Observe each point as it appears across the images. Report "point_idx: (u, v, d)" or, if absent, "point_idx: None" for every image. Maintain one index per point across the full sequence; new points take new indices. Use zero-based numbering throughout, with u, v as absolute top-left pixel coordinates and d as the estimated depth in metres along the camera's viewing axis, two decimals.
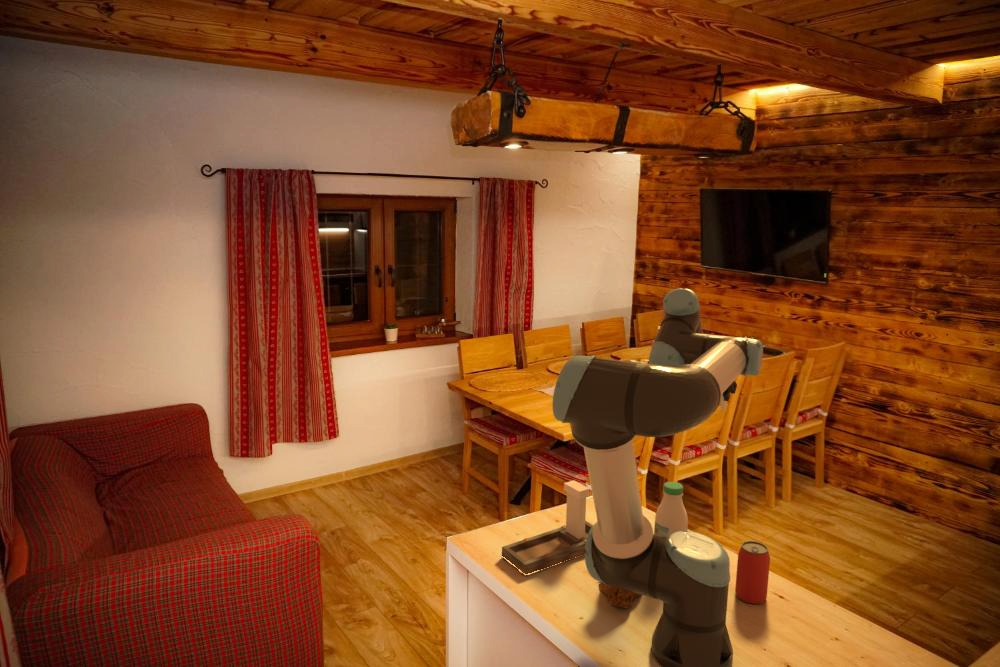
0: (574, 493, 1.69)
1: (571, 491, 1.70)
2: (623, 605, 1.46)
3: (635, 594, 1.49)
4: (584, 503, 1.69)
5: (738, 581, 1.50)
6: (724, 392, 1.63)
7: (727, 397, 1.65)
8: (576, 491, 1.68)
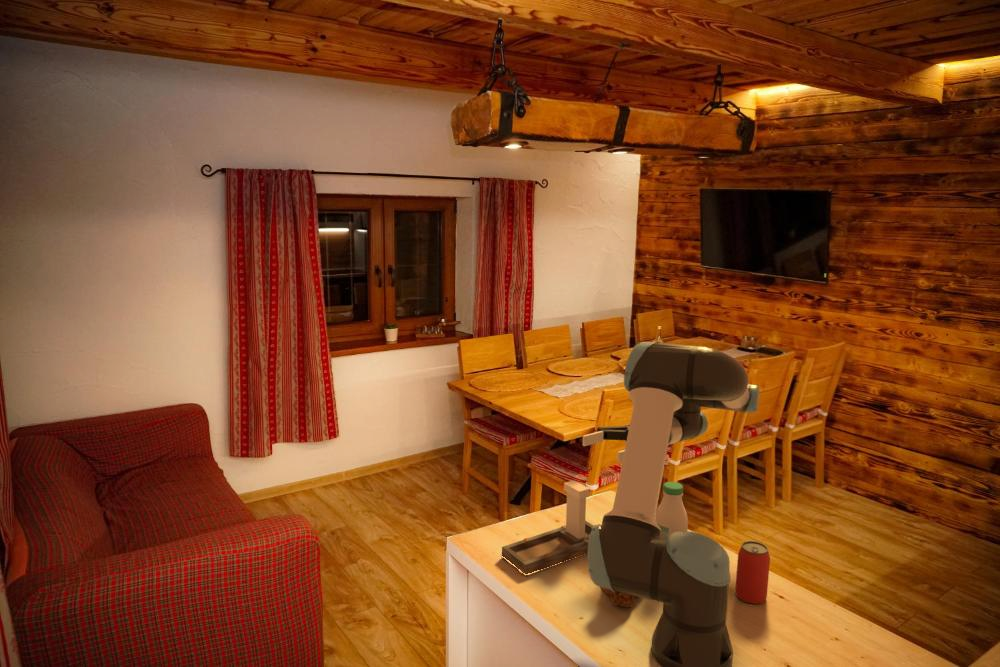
0: (574, 493, 1.69)
1: (571, 491, 1.70)
2: (624, 604, 1.46)
3: None
4: (584, 503, 1.69)
5: (738, 581, 1.50)
6: None
7: None
8: (576, 491, 1.68)
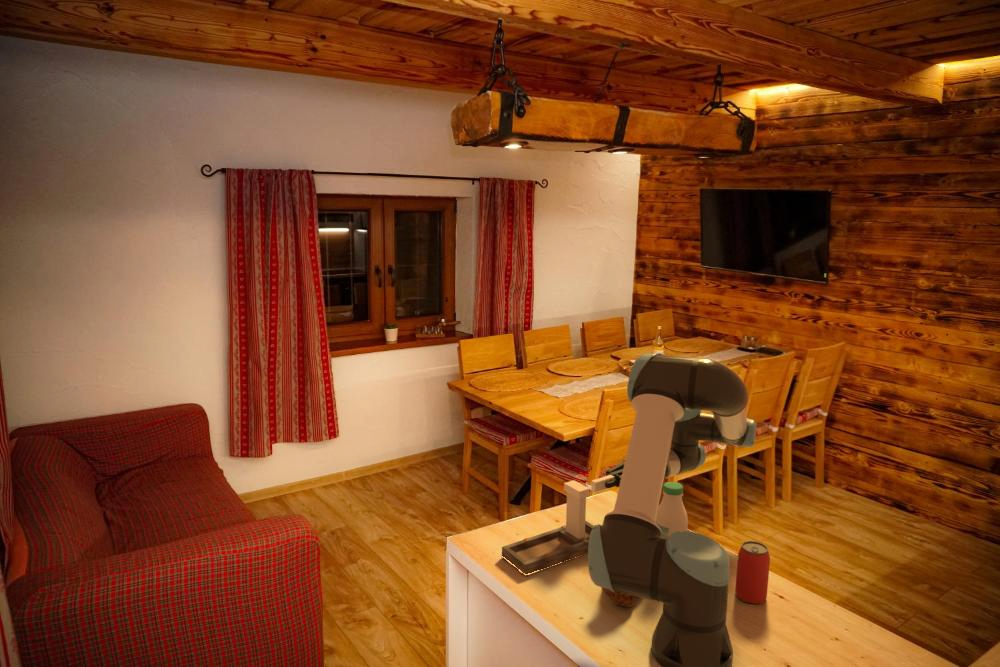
0: (574, 493, 1.69)
1: (571, 491, 1.70)
2: (625, 604, 1.46)
3: None
4: (584, 503, 1.69)
5: (738, 581, 1.50)
6: None
7: (611, 481, 1.75)
8: (576, 491, 1.68)
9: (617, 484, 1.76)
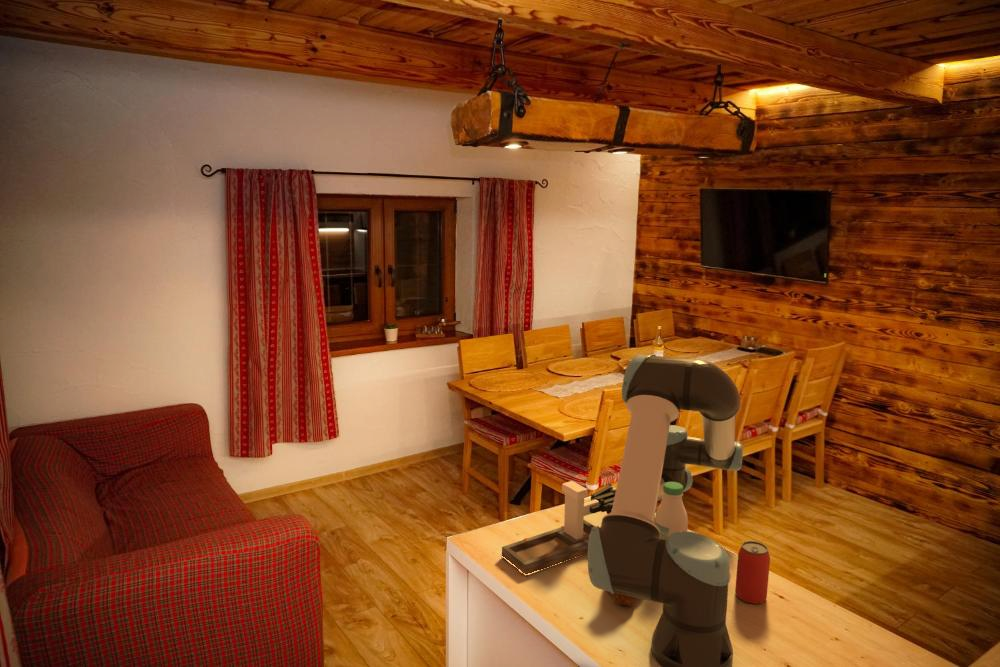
0: (572, 494, 1.68)
1: (569, 491, 1.70)
2: (627, 603, 1.46)
3: None
4: (582, 504, 1.69)
5: (738, 581, 1.50)
6: (603, 501, 1.75)
7: (596, 506, 1.73)
8: (574, 492, 1.68)
9: (602, 509, 1.74)
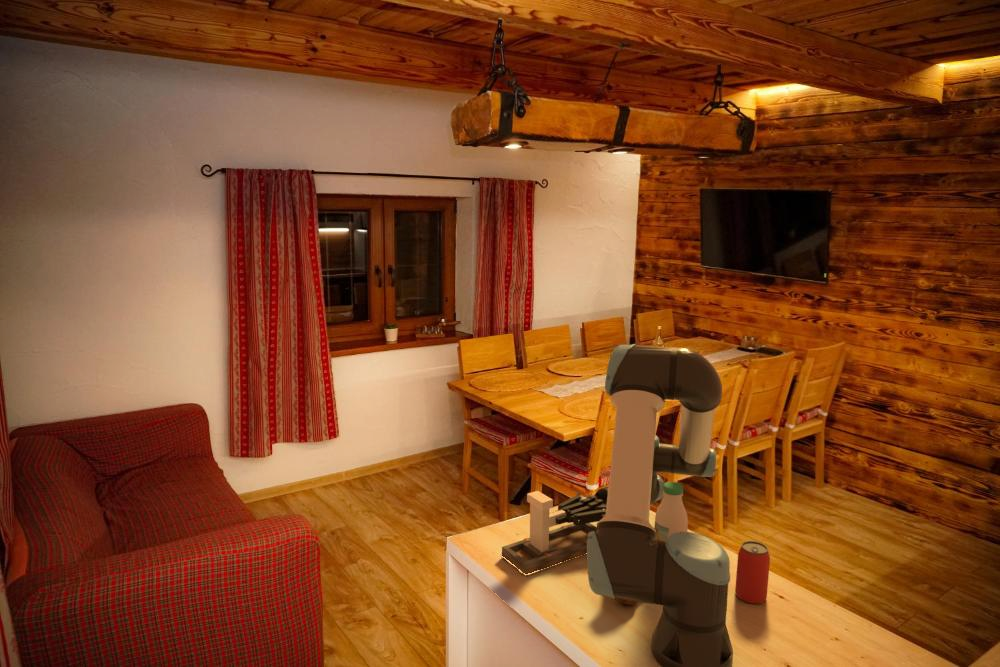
0: (537, 505, 1.63)
1: (533, 502, 1.64)
2: (628, 602, 1.47)
3: None
4: (547, 515, 1.63)
5: (738, 581, 1.50)
6: None
7: (562, 517, 1.68)
8: (539, 502, 1.62)
9: (568, 520, 1.69)
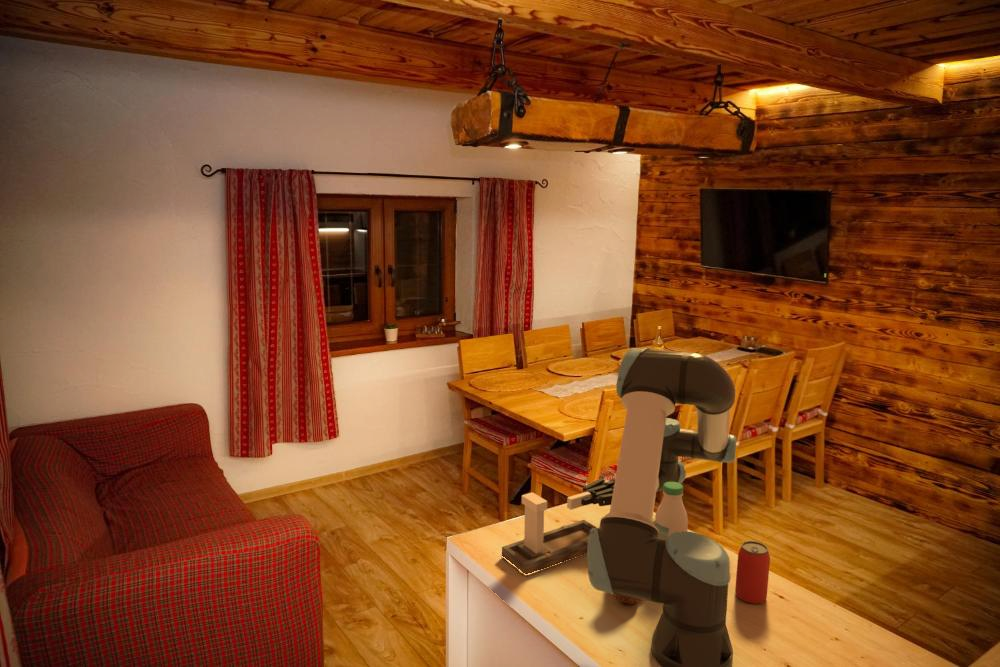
0: (531, 506, 1.62)
1: (528, 504, 1.63)
2: (630, 601, 1.47)
3: None
4: (542, 516, 1.62)
5: (738, 581, 1.50)
6: (595, 493, 1.73)
7: (588, 498, 1.72)
8: (533, 504, 1.61)
9: (594, 501, 1.72)
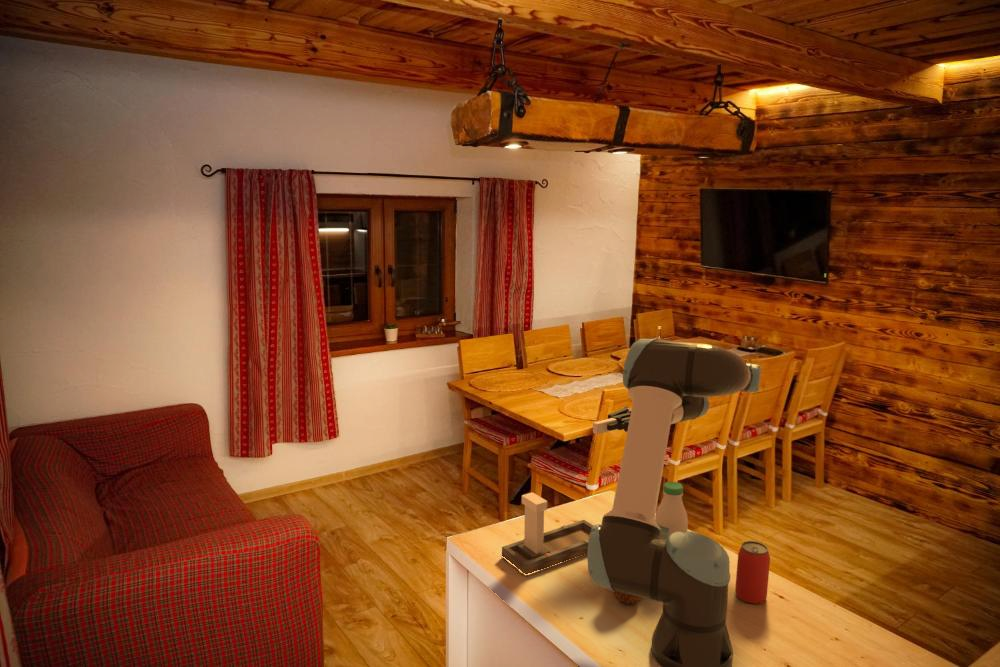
0: (531, 506, 1.62)
1: (528, 504, 1.63)
2: (630, 601, 1.47)
3: None
4: (542, 516, 1.62)
5: (738, 581, 1.50)
6: None
7: (613, 424, 1.72)
8: (533, 504, 1.61)
9: (619, 427, 1.73)
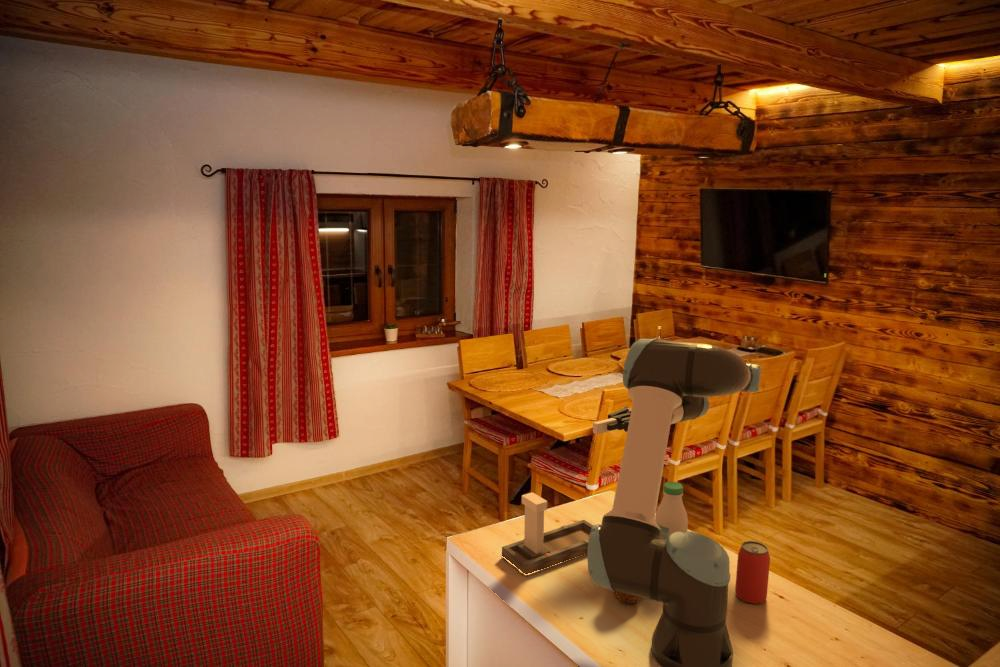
0: (531, 506, 1.62)
1: (528, 504, 1.63)
2: (631, 600, 1.47)
3: None
4: (542, 516, 1.62)
5: (738, 581, 1.50)
6: None
7: (614, 424, 1.72)
8: (533, 504, 1.61)
9: (619, 427, 1.73)
